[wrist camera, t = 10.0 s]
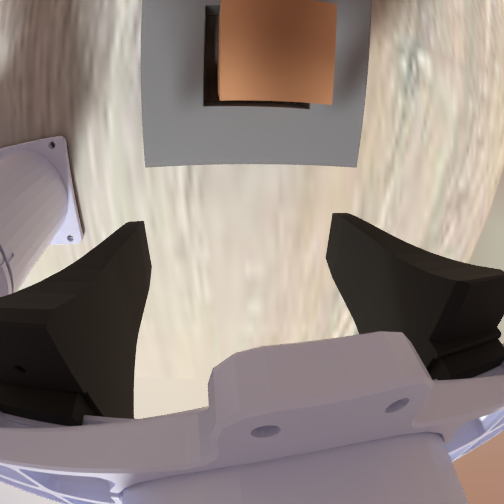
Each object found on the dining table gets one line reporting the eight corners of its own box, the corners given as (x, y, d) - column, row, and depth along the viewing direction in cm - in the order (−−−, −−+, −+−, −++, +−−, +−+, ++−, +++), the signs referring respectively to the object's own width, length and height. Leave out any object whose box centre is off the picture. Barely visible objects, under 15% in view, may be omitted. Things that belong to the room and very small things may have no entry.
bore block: (154, 153, 19) (145, 167, 16) (155, -26, 12) (145, -41, 10) (338, 153, 20) (356, 167, 18) (350, -14, 14) (371, -24, 11)
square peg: (217, 89, 17) (219, 100, 10) (218, 25, 15) (221, -7, 8) (286, 90, 18) (332, 104, 11) (288, 27, 15) (336, 4, 9)
